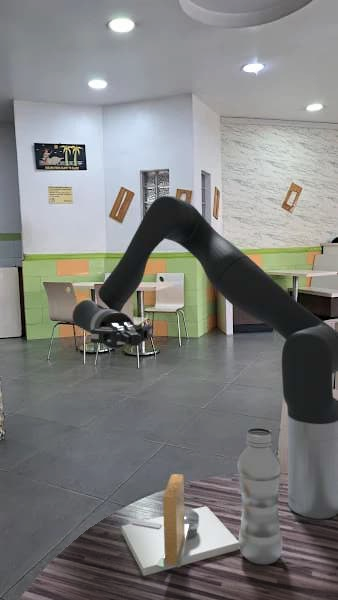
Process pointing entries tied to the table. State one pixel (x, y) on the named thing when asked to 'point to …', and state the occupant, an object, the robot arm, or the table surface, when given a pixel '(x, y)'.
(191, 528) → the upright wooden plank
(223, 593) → the table surface
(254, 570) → the table surface
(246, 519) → the plastic bottle
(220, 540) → the base plate
